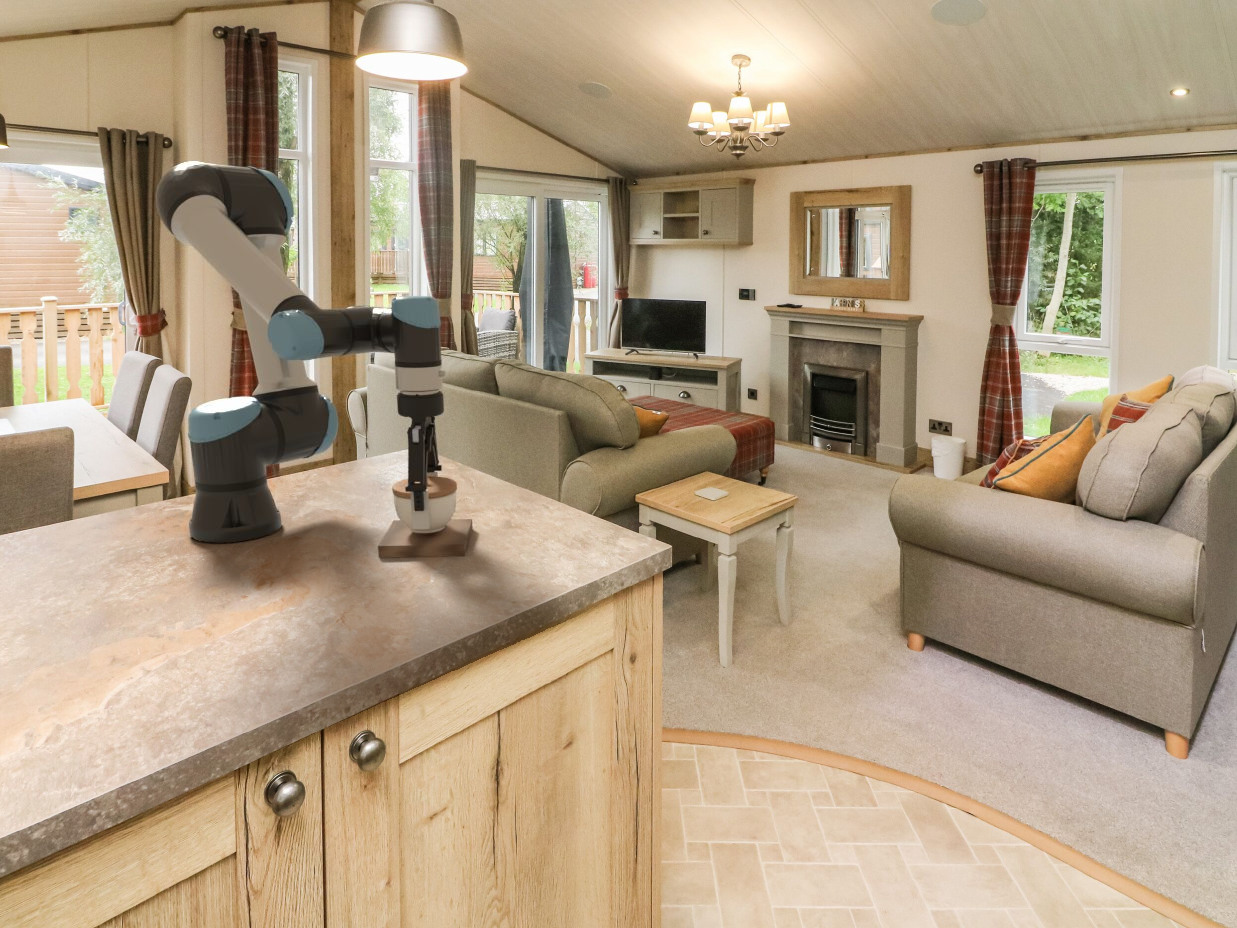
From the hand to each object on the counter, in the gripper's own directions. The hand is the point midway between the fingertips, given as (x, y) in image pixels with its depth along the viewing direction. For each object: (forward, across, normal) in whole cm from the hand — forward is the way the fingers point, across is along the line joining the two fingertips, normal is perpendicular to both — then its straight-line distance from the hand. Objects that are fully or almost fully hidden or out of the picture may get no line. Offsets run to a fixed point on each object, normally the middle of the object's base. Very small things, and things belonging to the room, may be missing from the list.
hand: (426, 517), depth 143 cm
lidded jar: (+2, 0, 0) cm, 2 cm away
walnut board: (+5, 0, 0) cm, 5 cm away
